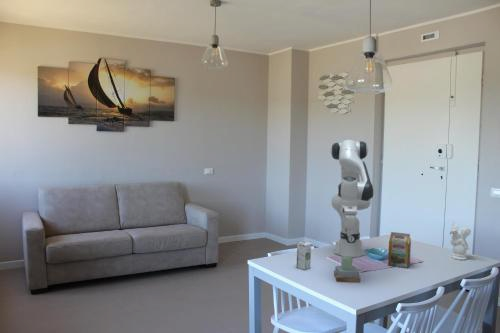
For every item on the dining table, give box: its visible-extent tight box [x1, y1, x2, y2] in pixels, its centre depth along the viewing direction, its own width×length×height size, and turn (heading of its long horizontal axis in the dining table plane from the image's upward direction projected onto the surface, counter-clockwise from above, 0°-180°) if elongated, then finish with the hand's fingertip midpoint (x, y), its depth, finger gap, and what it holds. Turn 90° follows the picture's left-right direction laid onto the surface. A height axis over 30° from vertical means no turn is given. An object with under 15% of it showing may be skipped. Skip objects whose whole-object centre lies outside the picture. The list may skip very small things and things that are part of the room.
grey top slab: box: [334, 265, 360, 277], centre depth 234 cm, size 10×10×3 cm
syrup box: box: [296, 241, 312, 270], centre depth 250 cm, size 6×6×14 cm
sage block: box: [340, 256, 353, 270], centre depth 233 cm, size 5×5×6 cm
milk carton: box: [387, 231, 412, 270], centre depth 259 cm, size 11×11×19 cm
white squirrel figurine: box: [449, 221, 472, 261], centre depth 273 cm, size 12×12×22 cm
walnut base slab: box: [333, 269, 361, 284], centre depth 234 cm, size 12×12×3 cm
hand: (347, 234), depth 232 cm, fingers open, 8 cm apart
